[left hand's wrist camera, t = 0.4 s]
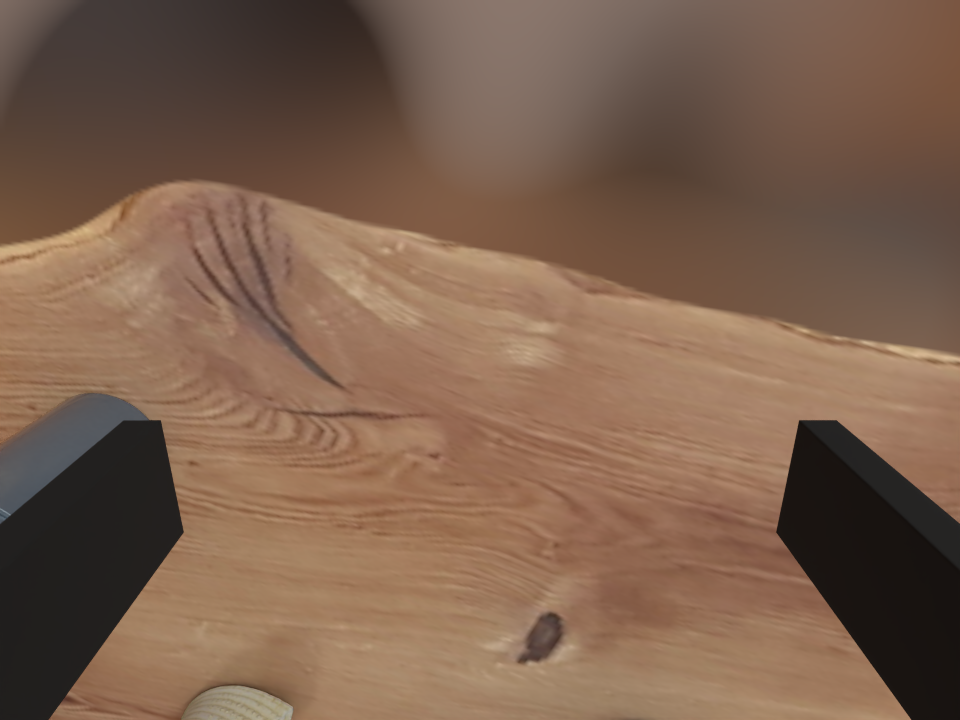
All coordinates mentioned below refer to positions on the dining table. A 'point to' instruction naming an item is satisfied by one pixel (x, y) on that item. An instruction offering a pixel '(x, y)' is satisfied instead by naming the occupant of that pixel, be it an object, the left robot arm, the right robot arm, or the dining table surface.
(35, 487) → the bottle
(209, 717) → the seashell
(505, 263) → the dining table surface
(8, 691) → the left robot arm
